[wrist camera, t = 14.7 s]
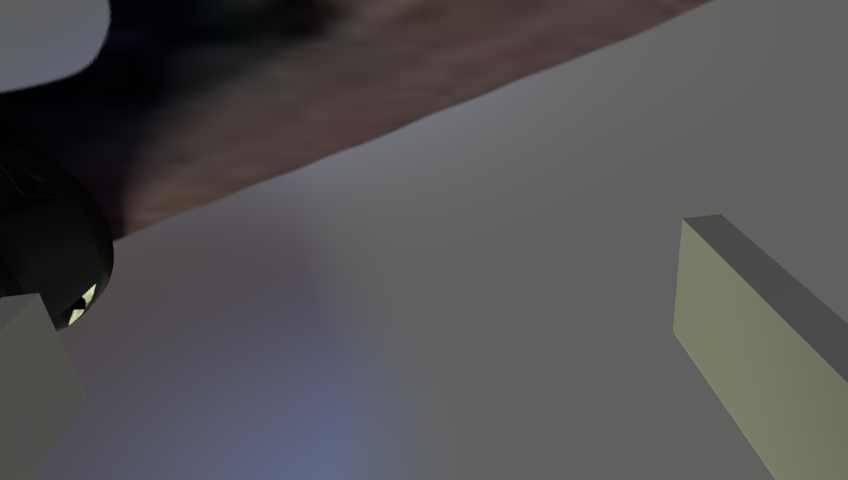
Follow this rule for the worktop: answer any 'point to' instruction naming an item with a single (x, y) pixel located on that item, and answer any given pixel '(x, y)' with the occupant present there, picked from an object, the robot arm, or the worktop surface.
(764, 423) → the robot arm
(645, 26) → the worktop surface
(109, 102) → the worktop surface
